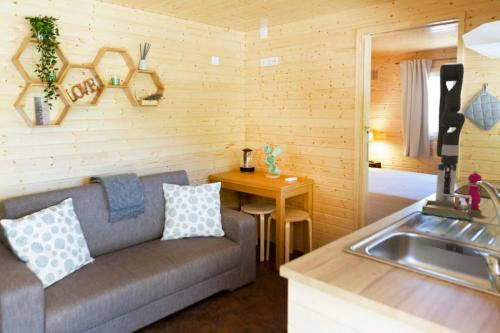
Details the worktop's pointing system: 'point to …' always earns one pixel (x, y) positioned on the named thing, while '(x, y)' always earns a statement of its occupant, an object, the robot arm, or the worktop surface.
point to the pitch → (445, 209)
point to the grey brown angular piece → (457, 196)
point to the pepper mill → (474, 190)
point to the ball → (463, 207)
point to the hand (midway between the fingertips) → (447, 186)
